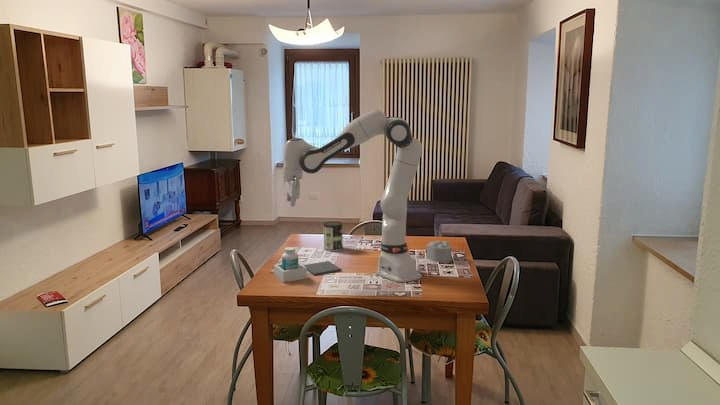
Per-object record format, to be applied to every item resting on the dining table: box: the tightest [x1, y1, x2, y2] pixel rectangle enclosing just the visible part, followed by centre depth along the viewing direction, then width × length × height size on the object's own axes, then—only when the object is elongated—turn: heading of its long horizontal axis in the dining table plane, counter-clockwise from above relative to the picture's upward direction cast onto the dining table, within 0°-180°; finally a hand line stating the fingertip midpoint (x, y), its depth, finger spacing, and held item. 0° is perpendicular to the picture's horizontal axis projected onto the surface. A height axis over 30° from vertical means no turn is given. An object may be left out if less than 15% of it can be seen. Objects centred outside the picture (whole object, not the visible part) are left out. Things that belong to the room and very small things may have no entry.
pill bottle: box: [281, 246, 299, 271], centre depth 254 cm, size 8×7×14 cm
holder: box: [273, 261, 308, 283], centre depth 255 cm, size 11×11×5 cm
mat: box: [302, 260, 342, 276], centre depth 266 cm, size 14×14×1 cm
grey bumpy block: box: [426, 239, 453, 264], centre depth 280 cm, size 10×13×9 cm
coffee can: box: [322, 220, 343, 252], centre depth 298 cm, size 10×10×14 cm
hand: (290, 203), depth 255 cm, fingers open, 8 cm apart
